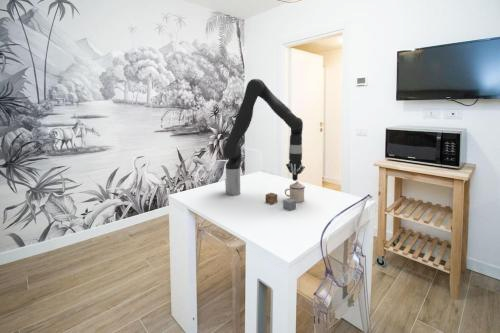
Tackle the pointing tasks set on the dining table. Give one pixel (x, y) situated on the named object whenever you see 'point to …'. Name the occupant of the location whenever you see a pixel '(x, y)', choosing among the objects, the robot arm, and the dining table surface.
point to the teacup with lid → (296, 192)
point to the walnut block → (271, 198)
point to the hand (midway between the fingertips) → (294, 180)
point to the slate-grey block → (289, 204)
